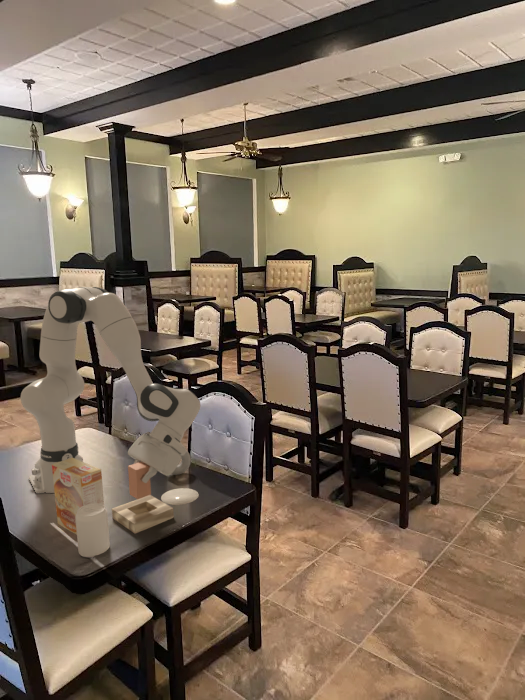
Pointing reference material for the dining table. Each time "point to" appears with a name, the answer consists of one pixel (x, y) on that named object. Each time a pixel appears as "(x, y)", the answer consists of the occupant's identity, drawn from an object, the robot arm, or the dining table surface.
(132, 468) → the block
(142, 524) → the holder
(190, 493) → the cream oval shape
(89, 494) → the coffeecake box
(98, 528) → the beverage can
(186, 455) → the donut
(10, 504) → the dining table surface
